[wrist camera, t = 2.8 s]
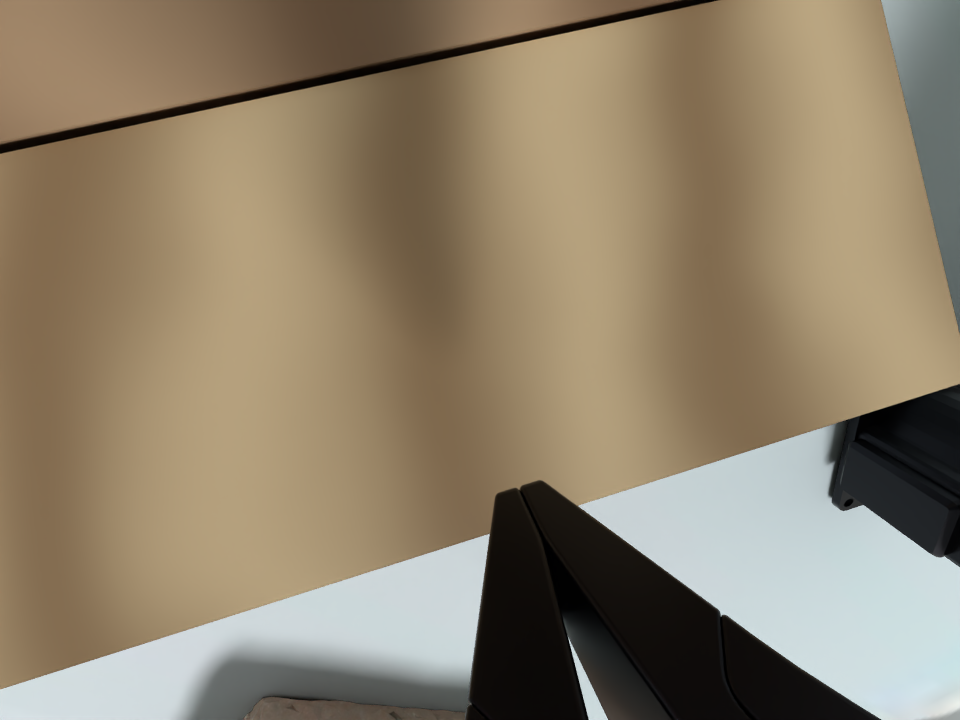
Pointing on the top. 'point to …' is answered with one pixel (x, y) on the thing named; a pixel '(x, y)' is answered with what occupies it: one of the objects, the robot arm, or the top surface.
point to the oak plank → (443, 307)
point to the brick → (341, 711)
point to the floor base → (240, 51)
